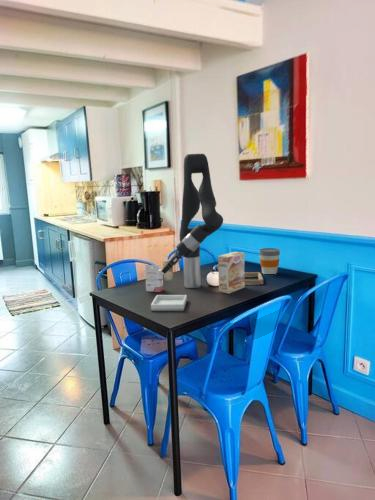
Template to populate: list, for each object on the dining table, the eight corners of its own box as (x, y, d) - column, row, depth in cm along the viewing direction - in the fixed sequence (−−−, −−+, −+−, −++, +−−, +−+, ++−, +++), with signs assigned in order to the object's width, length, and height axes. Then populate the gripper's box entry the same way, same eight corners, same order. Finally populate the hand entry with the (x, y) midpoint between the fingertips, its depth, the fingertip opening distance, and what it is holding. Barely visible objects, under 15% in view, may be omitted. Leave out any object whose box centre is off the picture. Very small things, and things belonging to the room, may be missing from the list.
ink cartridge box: (163, 289, 206) (162, 263, 203) (160, 292, 201) (158, 265, 199) (149, 288, 209) (148, 263, 206) (145, 291, 204) (144, 265, 202)
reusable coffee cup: (255, 272, 238) (255, 249, 235) (271, 270, 243) (271, 247, 240) (267, 276, 226) (267, 252, 224) (284, 274, 232) (284, 250, 229)
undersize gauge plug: (164, 278, 179) (163, 259, 177) (173, 278, 178) (172, 259, 177) (163, 280, 174) (162, 261, 173) (172, 280, 174) (171, 261, 172)
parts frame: (228, 276, 230) (228, 272, 230) (260, 276, 228) (260, 272, 228) (228, 284, 211) (228, 280, 211) (263, 284, 209) (263, 280, 209)
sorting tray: (156, 300, 187) (156, 295, 186) (186, 300, 185) (186, 294, 185) (151, 310, 172) (150, 304, 171) (183, 310, 170) (183, 304, 170)
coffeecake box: (229, 293, 194) (228, 257, 191) (218, 291, 199) (217, 255, 196) (245, 287, 205) (245, 252, 202) (234, 285, 210) (234, 251, 206)
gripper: (184, 237, 179) (160, 262, 183) (180, 241, 165) (155, 269, 169) (195, 248, 180) (171, 273, 183) (193, 253, 166) (167, 280, 169)
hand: (164, 271), depth 176 cm, fingers closed on undersize gauge plug, 4 cm apart
